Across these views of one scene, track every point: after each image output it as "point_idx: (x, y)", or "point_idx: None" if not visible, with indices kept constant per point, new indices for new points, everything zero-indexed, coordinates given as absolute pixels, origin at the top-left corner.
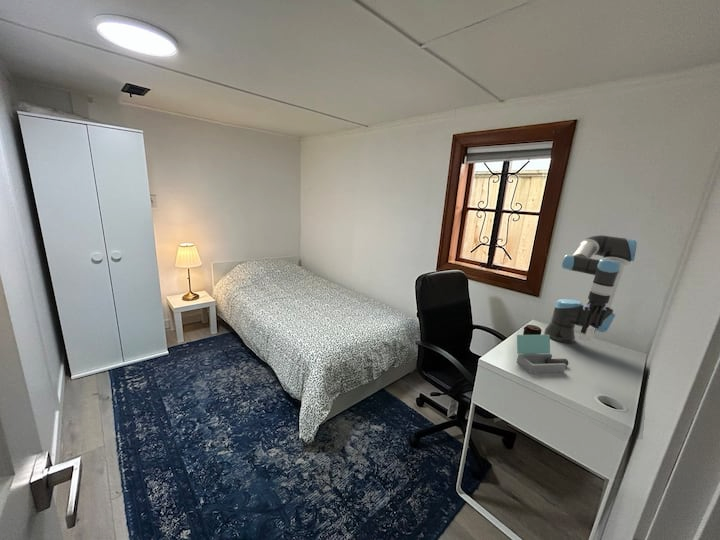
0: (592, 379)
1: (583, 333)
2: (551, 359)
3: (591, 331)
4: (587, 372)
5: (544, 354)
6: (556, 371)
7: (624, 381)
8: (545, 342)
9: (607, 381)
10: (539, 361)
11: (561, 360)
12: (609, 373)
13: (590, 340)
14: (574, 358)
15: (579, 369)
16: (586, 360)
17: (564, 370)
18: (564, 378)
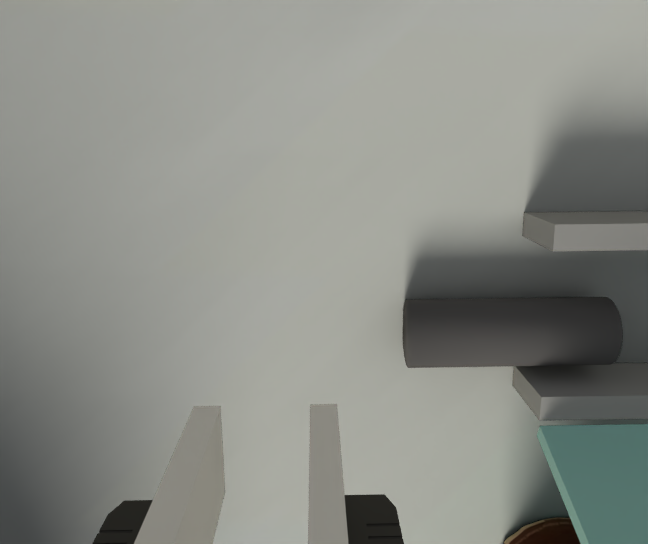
0: (334, 92)
1: (385, 497)
2: (591, 341)
3: (190, 531)
4: (277, 201)
5: (624, 408)
6: (613, 212)
7: (10, 46)
8: (643, 526)
9: (202, 55)
10: (636, 367)
11: (486, 326)
12: (49, 178)
13: (213, 408)
14: None
15: (316, 249)
16: (96, 386)
17: (531, 215)
18: (613, 119)
